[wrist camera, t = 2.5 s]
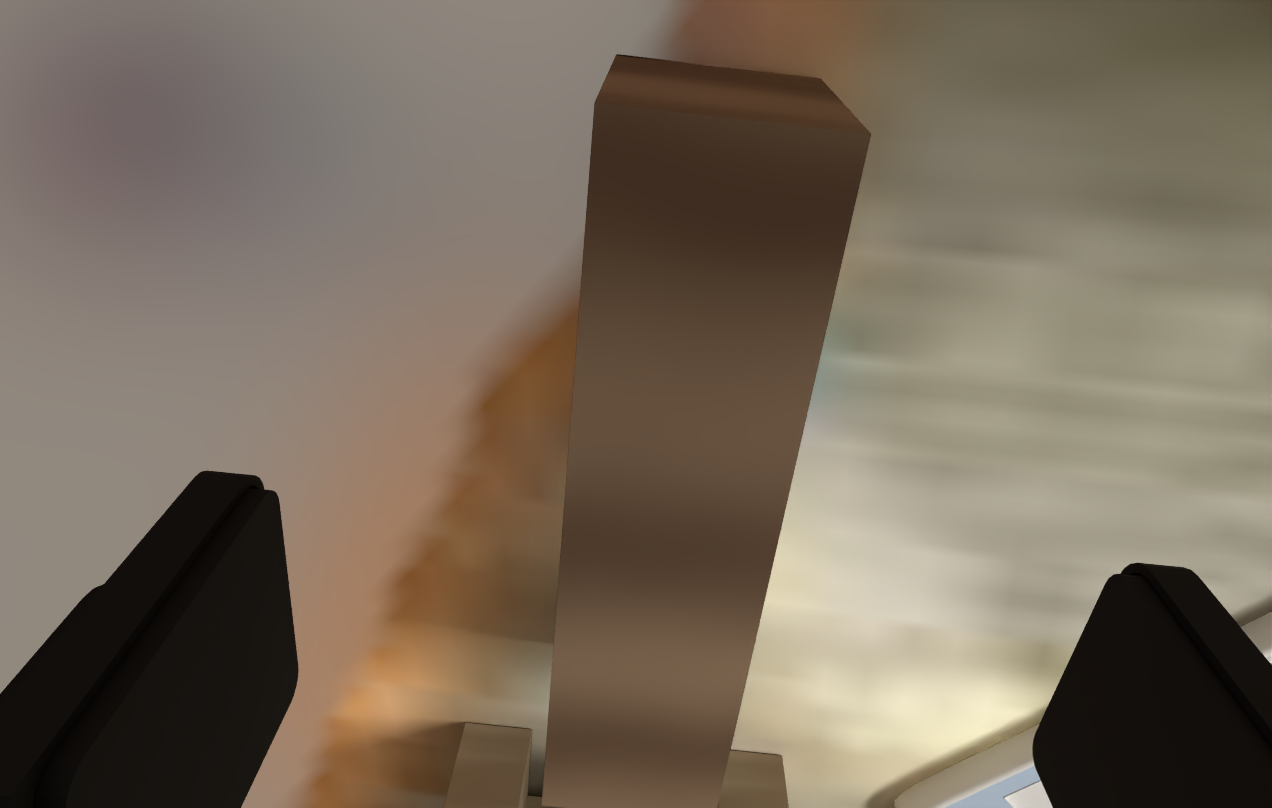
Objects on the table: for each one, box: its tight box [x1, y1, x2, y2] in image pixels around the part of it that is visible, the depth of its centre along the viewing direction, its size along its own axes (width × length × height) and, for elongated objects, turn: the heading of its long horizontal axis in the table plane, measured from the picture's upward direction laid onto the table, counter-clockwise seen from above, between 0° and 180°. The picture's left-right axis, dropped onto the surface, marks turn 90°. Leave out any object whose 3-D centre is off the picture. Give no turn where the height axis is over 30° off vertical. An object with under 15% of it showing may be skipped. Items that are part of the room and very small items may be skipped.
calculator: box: [894, 612, 1272, 808], centre depth 30 cm, size 13×20×2 cm, turn 132°
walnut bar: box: [542, 54, 871, 808], centre depth 21 cm, size 18×5×6 cm, turn 174°
